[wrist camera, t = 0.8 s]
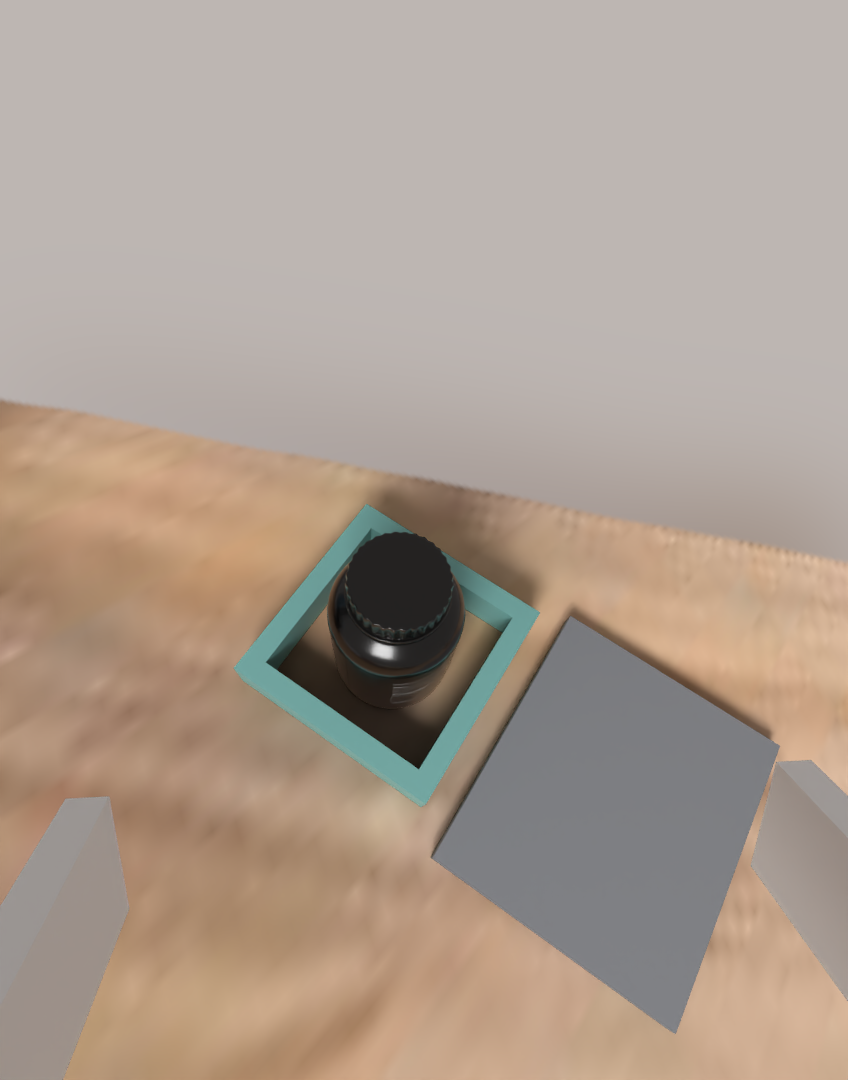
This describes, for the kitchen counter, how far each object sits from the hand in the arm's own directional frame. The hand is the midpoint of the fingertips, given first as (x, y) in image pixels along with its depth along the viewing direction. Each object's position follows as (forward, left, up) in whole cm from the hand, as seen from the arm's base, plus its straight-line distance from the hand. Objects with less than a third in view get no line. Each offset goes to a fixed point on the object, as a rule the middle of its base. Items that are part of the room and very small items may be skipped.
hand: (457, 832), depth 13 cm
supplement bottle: (-6, +8, -24) cm, 26 cm away
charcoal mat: (+9, +8, -24) cm, 27 cm away
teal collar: (-6, +8, -24) cm, 26 cm away
